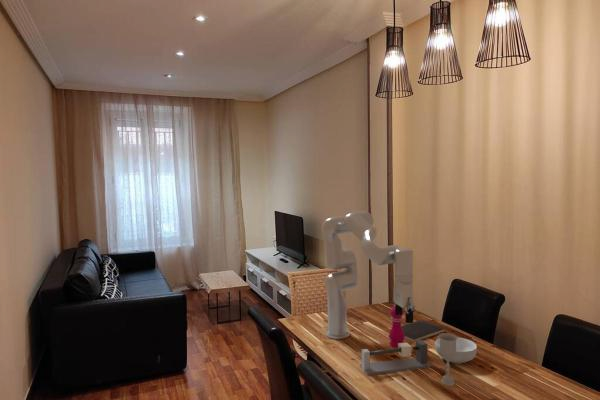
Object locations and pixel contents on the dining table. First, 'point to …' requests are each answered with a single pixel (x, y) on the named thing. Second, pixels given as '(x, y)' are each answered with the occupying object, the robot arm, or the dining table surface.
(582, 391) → the dining table surface
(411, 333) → the hardcover book
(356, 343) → the dining table surface
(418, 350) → the linear slide rail
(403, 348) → the sleeve
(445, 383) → the chalice
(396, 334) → the pepper mill
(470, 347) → the cereal bowl
